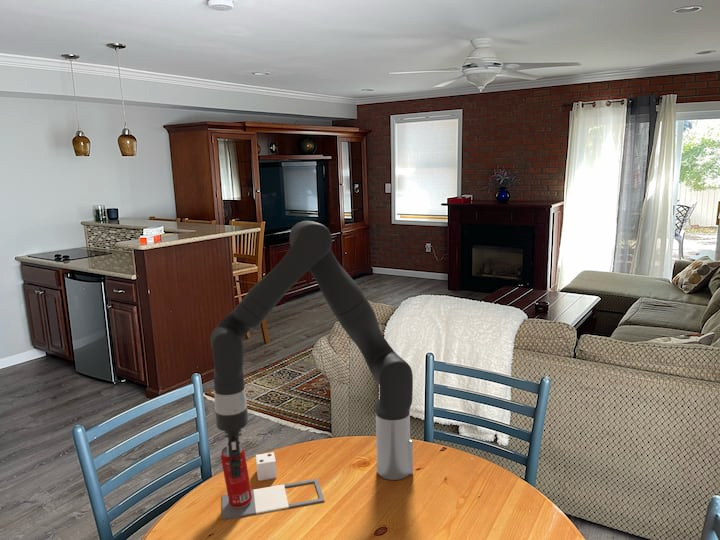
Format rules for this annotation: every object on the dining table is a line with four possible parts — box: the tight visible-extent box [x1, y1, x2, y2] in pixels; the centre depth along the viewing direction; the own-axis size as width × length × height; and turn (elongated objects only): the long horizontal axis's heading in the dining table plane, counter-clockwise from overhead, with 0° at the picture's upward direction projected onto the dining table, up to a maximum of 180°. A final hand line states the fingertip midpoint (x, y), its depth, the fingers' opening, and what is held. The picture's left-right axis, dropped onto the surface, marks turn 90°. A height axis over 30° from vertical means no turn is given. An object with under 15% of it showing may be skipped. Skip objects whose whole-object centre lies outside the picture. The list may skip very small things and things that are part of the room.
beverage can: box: [220, 445, 252, 508], centre depth 132 cm, size 6×6×15 cm
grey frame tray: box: [221, 478, 325, 521], centre depth 136 cm, size 25×10×1 cm, turn 105°
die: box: [255, 451, 277, 482], centre depth 147 cm, size 5×5×5 cm
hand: (235, 468), depth 132 cm, fingers open, 8 cm apart
